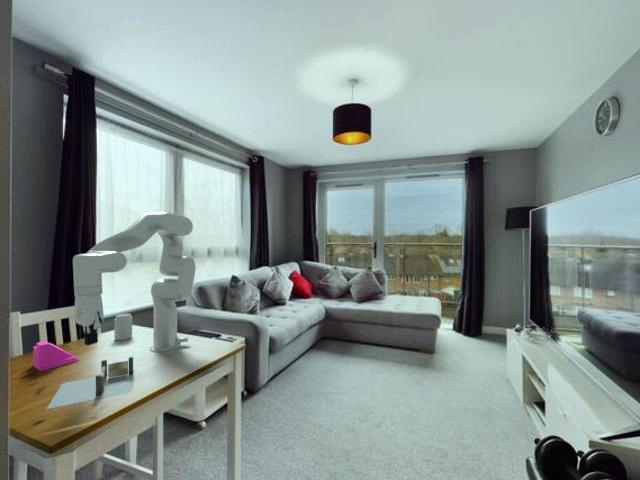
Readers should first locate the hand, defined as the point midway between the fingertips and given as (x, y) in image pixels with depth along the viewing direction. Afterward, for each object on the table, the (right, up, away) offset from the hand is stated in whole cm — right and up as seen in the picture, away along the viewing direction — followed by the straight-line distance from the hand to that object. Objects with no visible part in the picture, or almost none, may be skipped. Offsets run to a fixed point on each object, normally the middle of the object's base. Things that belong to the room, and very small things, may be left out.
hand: (91, 343), depth 102 cm
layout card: (+3, -14, -2) cm, 15 cm away
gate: (+5, -13, -2) cm, 14 cm away
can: (-21, -14, +48) cm, 54 cm away
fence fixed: (+8, -14, 0) cm, 16 cm away
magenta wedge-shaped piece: (-27, -15, +18) cm, 36 cm away
